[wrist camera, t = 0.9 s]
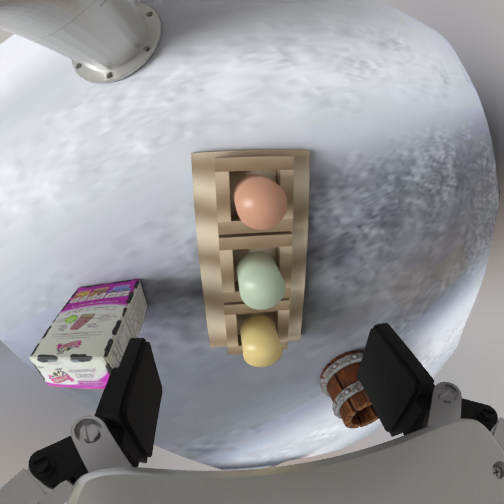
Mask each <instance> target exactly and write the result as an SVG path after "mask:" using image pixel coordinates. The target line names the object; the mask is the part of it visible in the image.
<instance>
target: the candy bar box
mask: <svg viewBox="0 0 504 504" xmlns="http://www.w3.org/2000/svg"><path fill="white" fill-rule="evenodd" d="M147 308H148V304H147V301H146V298H145V296H144V293H143V289H142V286H141V283H140V280H139V279H135V280H128V281H122V282H116V283H109V284H102V285H95V286H88V287H81V288H78V289H77V290H76V292H75V293H74V294H73V295H72V297H71V298H70V299H69V301H68V302H67V303H66V305H65V306H64V307H63V309H62V310H61V311H60V313H59V314H58V316H57V317H56V319H55V320H54V321H53V323H52V324H51V326H50V327H49V328H48V330H47V331H46V333H45V334H44V336H43V337H42V339H41V340H40V342H39V343H38V345H37V346H36V348H35V349H34V351H33V353H32V354H31V356H30V357H29V358H30V360H31V361H32V363H33V364H34V366H35V367H36V368H37V370H38V372H39V373H40V375H41V376H42V377H43V379H44V381H45V382H46V383H47V384H48V385H49V386H55V387H68V388H85V389H105V386H106V384H107V381H108V379H109V376H110V374H111V371H112V369H113V368H114V367H119V365H120V362H121V360H122V357H123V355H124V352H125V350H126V347H127V345H128V342H129V340H130V338H138V335H139V331H140V329H141V326H142V323H143V320H144V317H145V314H146V311H147Z"/></svg>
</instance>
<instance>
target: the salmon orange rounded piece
mask: <svg viewBox="0 0 504 504" xmlns="http://www.w3.org/2000/svg"><path fill="white" fill-rule="evenodd" d="M234 202H235V206H236V210H237V213H238V216H239V218H240V219H241V220H242V222H243V223H244V224H246V225H247V226H249V227H251V228H253V229H258V230H265V229H269V228H272V227H274V226H275V225H277V224H278V223H279V222H280V221H281V220H282V219H283V217H284V216H285V214H286V211H287V197H286V194H285V192H284V191H283V189H282V188H281V187H280V186H279V185H278V184H276V183H275V182H273V181H272V180H270V179H269V178H267V177H266V176H264V175H260V174H251V175H248V176H246V177H244V178H242V179H241V180H240V181H239V182H238V183H237V185H236V187H235V190H234Z"/></svg>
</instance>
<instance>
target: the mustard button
mask: <svg viewBox="0 0 504 504" xmlns="http://www.w3.org/2000/svg"><path fill="white" fill-rule="evenodd" d="M240 333H241V341H242V349H243V356H244V359H245V361H246V362H247V363H248V364H250V365H252V366H255V367H265V366H269V365H272V364H273V363H275V362H276V361H278V360H279V358H280V357H281V355H282V347H281V343H280V340H279V337H278V334H277V330H276V327H275V324H274V322H273V320H272V319H271V318H269V317H267V316H264V315H255V316H251V317H249V318H247V319H246V320H245V321H244V322H243V323H242V325H241V327H240Z"/></svg>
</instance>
